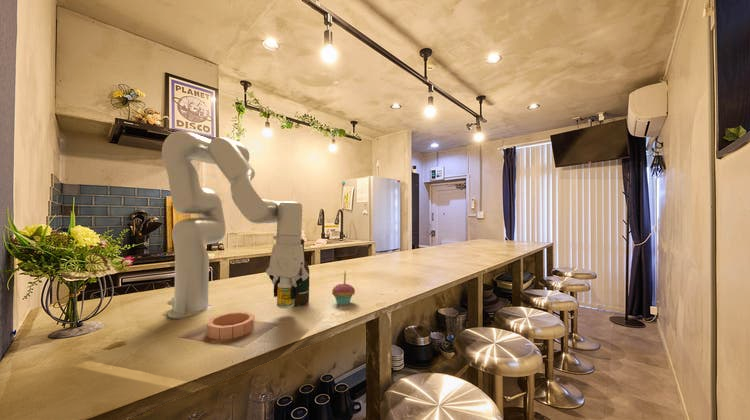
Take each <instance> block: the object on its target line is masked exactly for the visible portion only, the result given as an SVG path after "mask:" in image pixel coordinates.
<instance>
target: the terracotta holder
mask: <svg viewBox="0 0 750 420" xmlns="http://www.w3.org/2000/svg"><path fill="white" fill-rule="evenodd" d="M254 321H255V315H254V314H253V313H252V312H249V311H248V312H247V311H232V312H225V313H221V314H218V315H216V316H213V317H211V318H210V319H209V320H208V321H207V322H206V324H207V336H208V337H209V338H212V339H220V340H221V339H231V338H236V337H239V336H242V335H245V334H247V333H249V332H250V331H252V330H253V328H254ZM237 323H238V324H237ZM229 324H235V325H229ZM225 325H227V326H225Z"/></svg>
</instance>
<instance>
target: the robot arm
mask: <svg viewBox="0 0 750 420" xmlns="http://www.w3.org/2000/svg"><path fill="white" fill-rule="evenodd" d="M161 147H162V148H161V156H162V160H163V164H164V165H163V166H164V167H165V170H166V174H167V177H168V185H169V191H170V198H171V202H172V207H173V208H174V211H175V212H177V213H179V214H181V215H193V216H194V215H196V216H197V215H198V217H188V218H184V219H181V220H179V221H177V222H176V223H175V224H174V225H173V227H172V231H171V239H172V243H173V248H174V294H173V295H174V297H172V298H171V300H168V301H167V305H168V306H171V309H170V310H169V311H168V312H167V316H168V318H170V319H174V320H181V319H183V318H186V317H188V316H192V315H193V316H194V315H197V314H198V315H199V314H201V313H205V312H208V311H210V310H211V309H212V308H214V305H213V304H211V303H209V286H210V285H209V282H210V281H209V280H210V279H209V277H210V275H209V274H210V272H209V271H210V267H209V266H210V257H209V254H208V251H207V250H208V249H207V248H206V245H212V244H217V243H219V242H221V241H222V240H223V239H224V237H225V235H226V221H225V217H224V210H223V204H222V200H221V198H220V196H219V194H217V192H215V190H214V191H213V190H212V189H210V188H203V187H201V184H200V179H199V174H198V171H197V169H196V168H195V165H193V163H192V161H191V160H193V161H199V162H202V163H206V164H209V165H210V164H211V165H216V166H217V167H218V169H219V170H220V171H221V173H222V174H223V176H224V177H225V178H226V179H227V181H228V182H229V184H230V194H231V198H232V201H233V203H234V205H235V206H236V207H237V209H238V210H239V211H240V213H241V214H242V216H243V217H244V218H245V219H246V220H248V221H249V222H251V223H252V224H259V225H260V224H275V223H276V234H275V235H273V238H272V239H273V240H274V241H275V243H274V244H273V246H272V249H271V253H270V259H269V266H268V267H267V268H266V270H265V273H266V275H267V276H268V277H269V279H270V280H271V282H272V283H271V284H272V285H273V298H277V288H278V283H279V282H281V281H280V277H287V278H292V282H293V286H292V287H291V299H295V298H297V297H298V295H299V285H300V284H301V283H302V282H303V281H304V280H305V279H307V278H308V277H309V278H310V273H309V274H308V273H307V271H306V270H305V268H304V257H305V251H304V252H303V246H302V245H301V239H302V227H303V226H302V225H303V204H302V203H301V202H298V201H287V200H284V201H283V200H282V201H278V200H273V199H265V198H264V199H263V198H261V196H260V195H259V194H258V193H257V191H256V190H255V188H254V187H253V185H252V183H251V181H252V180H253V179H254V178H255V175H256V171H255V169H254V168H253V167H252V165H251V164H250V163H249V161H250V152H249V150H248V149H247V147H246V146H244V145H243V144H242V143H240V142H238V141H235V140H232V139H230V138H226V137H224V136H223V137H221V136H220V137H215V138H213V139H209V138H206V137H204V136H201V135H199V134H196V133H194V132H189V131H185V130H184V131H183V130H180V131H173V132H171V133H170V134H169V135H168V136H167V137H166V138H165V139H164V141H163V144H162V146H161ZM299 275H302V277H301V278H300V276H299Z"/></svg>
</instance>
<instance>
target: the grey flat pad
mask: <svg viewBox="0 0 750 420" xmlns="http://www.w3.org/2000/svg"><path fill="white" fill-rule="evenodd" d="M237 324H238V323H237ZM229 325H235V324H229ZM278 325H279V323H277V322H276V323H275V322H269V321H268V322H267V321H262V320H261V321H260V320H254V328H253V330H252V331H250V332H249V333H247V334H245V335H242V336H239V337H236V338H231V339H221V340H220V339H212V338H209V337H208V336H207V323H205V324H203V325H201V326H198V327H197V328H196V327H195V328H194V329H191V330H190V331H188V332H186V333H183V334H181V335H179V336H178V338H181V339H186V340H191V341H192V340H194V341H197V342H204V343H211V344H217V345H218V344H219V345H222V346H223V345H224V346H231V347H236V348H237V347H238V348H242V349H243V348H244V347H246V346H248V345H249V344H251V343H252V342H253V341H255V340H257V339H258V338H260V337H261V336H263V335H264V334H266V333H267V332H269V331H271V330H272V329H274V328H275V327H277V326H278ZM225 326H227V325H225Z"/></svg>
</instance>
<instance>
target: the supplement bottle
mask: <svg viewBox="0 0 750 420" xmlns="http://www.w3.org/2000/svg"><path fill="white" fill-rule="evenodd" d="M292 286H293V282H292V278H287V277H280V282H279V283H278V288H277V297H276V307H277V308H279V309H290V308H293V307H295V306H294V300H295V299H291V287H292Z"/></svg>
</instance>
